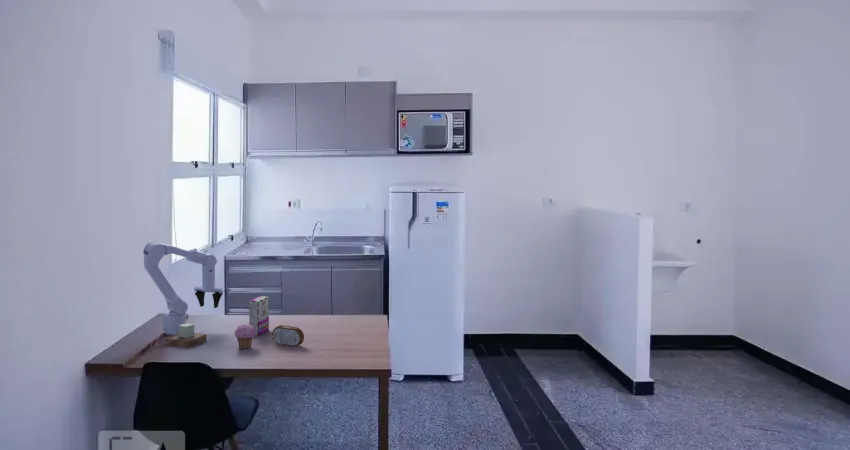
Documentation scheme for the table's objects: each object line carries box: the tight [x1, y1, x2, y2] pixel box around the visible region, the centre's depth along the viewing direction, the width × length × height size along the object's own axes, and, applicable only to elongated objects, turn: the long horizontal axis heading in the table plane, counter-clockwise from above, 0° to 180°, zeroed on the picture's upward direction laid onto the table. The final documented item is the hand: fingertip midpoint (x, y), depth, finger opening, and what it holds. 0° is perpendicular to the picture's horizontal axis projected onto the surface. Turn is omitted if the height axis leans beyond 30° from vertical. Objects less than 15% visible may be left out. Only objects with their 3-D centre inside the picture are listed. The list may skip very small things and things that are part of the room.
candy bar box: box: [248, 295, 270, 337], centre depth 288 cm, size 11×5×16 cm, turn 168°
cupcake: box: [234, 324, 256, 350], centre depth 264 cm, size 9×9×10 cm
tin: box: [271, 324, 305, 347], centre depth 270 cm, size 15×3×8 cm, turn 71°
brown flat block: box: [164, 332, 207, 349], centre depth 268 cm, size 12×12×3 cm
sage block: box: [179, 322, 195, 338], centre depth 268 cm, size 4×4×5 cm
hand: (208, 306), depth 293 cm, fingers open, 7 cm apart
